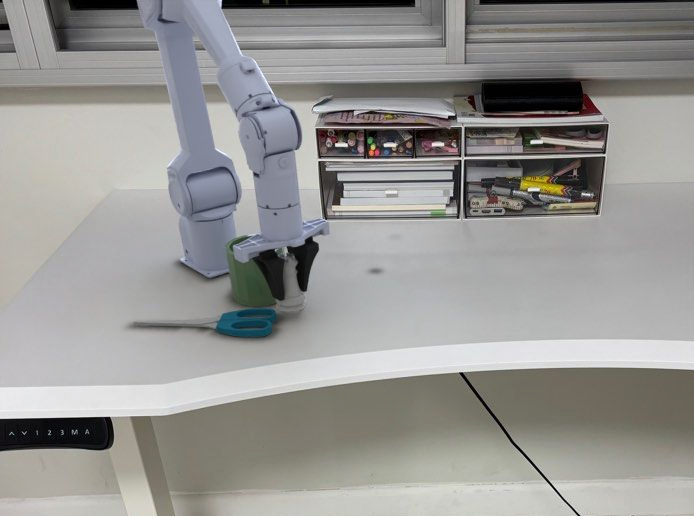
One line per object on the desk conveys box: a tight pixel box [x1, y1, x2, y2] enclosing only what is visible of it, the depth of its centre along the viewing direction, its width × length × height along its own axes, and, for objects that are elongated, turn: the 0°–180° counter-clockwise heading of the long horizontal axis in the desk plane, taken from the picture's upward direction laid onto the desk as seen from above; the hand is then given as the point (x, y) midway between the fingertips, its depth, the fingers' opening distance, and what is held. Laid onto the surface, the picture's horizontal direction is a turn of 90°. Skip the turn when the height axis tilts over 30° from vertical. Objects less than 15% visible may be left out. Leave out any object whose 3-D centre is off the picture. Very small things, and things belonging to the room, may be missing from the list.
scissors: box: [133, 307, 278, 338], centre depth 112 cm, size 7×1×20 cm
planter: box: [225, 233, 286, 307], centre depth 119 cm, size 8×8×8 cm
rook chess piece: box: [275, 252, 308, 315], centre depth 113 cm, size 4×4×8 cm
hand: (289, 293), depth 114 cm, fingers closed on rook chess piece, 3 cm apart
